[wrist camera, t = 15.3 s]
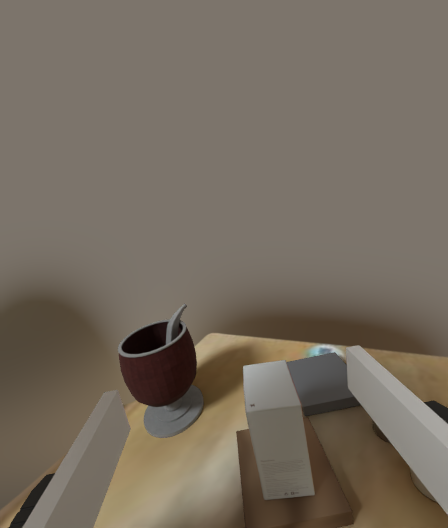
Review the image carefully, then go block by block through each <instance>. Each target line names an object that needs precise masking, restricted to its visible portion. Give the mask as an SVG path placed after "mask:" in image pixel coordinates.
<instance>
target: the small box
mask: <svg viewBox="0 0 448 528" xmlns="http://www.w3.org/2000/svg"><path fill="white" fill-rule="evenodd" d="M243 378H244V396H245V410H246V416H247V421H248V426H249V431H250V435H251V440H252V445H253V449H254V454H255V458H256V463H257V467H258V472H259V477H260V482H261V487H262V492H263V497H264V500H272V499H282V498H293V497H302V496H312V495H315V490H314V483H313V477H312V471H311V465H310V458H309V452H308V445H307V439H306V432H305V426H304V419H303V413H302V405H301V402H300V399H299V396H298V393H297V391H296V388H295V385H294V382H293V380H292V377H291V374H290V371H289V368H288V366H287V363H286V360H282V361H275V362H267V363H260V364H253V365H245V366H243Z"/></svg>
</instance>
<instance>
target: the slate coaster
mask: <svg viewBox="0 0 448 528" xmlns="http://www.w3.org/2000/svg"><path fill="white" fill-rule="evenodd" d="M286 363H287V366H288V368H289V371H290V374H291V377H292V380H293V382H294V385H295V388H296V391H297V393H298V396H299V399H300V402H301V405H302V411H303V414H304V416H309V415H314V414H319V413H324V412H329V411H334V410H339V409H344V408H349V407H354V406H359V405H361V404H360V403H359V401H358V400H357V399H356V398H355V396H354V395H353V394H352V393H351V391H350V390H349V389H348V379H347V365H346V364H345V363H344V362H343V361H342V360H341V358H340V357H339V356H338V355H337V354H336V353H335V352H334V353H329V354H324V355H319V356H315V357H310V358H305V359H300V360H295V361H290V362H286Z"/></svg>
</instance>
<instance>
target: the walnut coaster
mask: <svg viewBox="0 0 448 528" xmlns="http://www.w3.org/2000/svg"><path fill="white" fill-rule="evenodd" d="M303 419H304V426H305V432H306V439H307V445H308V452H309V458H310V465H311V471H312V477H313V483H314V490H315V495H312V496H302V497H293V498H282V499H272V500H264V497H263V492H262V487H261V482H260V477H259V472H258V467H257V463H256V458H255V454H254V449H253V445H252V440H251V435H250V431H249V429H246V430H241V431H236V433H237V443H238V454H239V464H240V475H241V485H242V495H243V506H244V516H245V526H246V528H337V527H342V526H347V525H352V524H353V515H352V510H351V508H350V506H349V504H348V501H347V499H346V497H345V495H344V493H343V491H342V489H341V486H340V484H339V482H338V480H337V478H336V476H335V474H334V471H333V469H332V467H331V465H330V463H329V461H328V459H327V456H326V454H325V452H324V450H323V448H322V446H321V444H320V441H319V439H318V437H317V435H316V433H315V431H314V429H313V427H312V424H311V422H310V420H309V418H308V417H305V418H303Z"/></svg>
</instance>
